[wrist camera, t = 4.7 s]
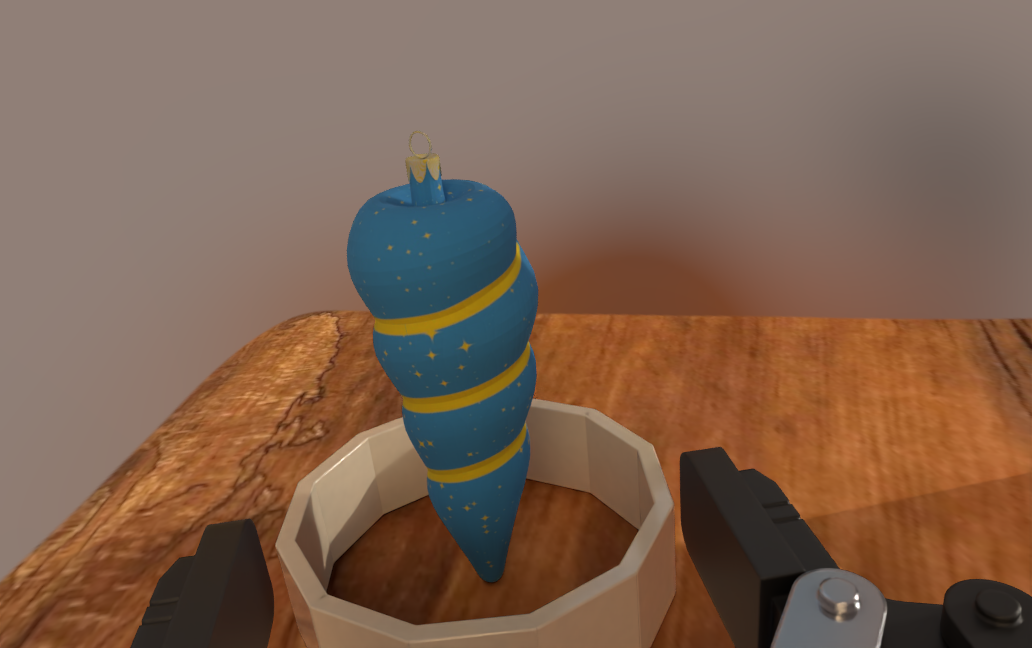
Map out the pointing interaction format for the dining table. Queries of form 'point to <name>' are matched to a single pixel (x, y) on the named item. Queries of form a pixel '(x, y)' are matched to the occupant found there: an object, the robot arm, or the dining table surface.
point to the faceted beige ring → (553, 459)
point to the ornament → (454, 343)
